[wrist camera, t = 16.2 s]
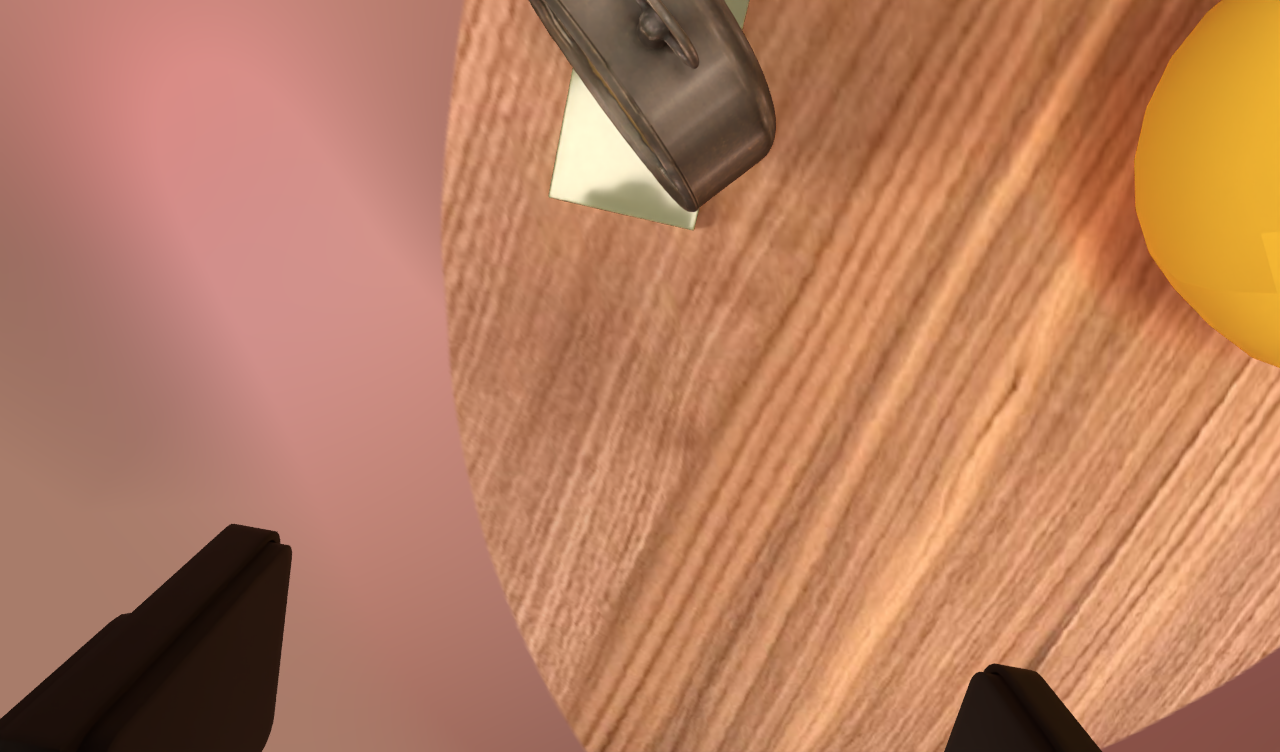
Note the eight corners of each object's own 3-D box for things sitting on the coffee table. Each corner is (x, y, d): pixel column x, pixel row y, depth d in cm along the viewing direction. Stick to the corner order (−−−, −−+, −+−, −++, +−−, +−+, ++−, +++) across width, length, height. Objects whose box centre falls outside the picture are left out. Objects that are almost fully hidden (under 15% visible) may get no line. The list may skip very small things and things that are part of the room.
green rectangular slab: (692, 229, 38) (694, 230, 37) (549, 196, 38) (548, 197, 37) (763, -65, 35) (766, -70, 34) (606, -105, 34) (606, -111, 33)
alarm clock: (526, 4, 35) (436, -117, 19) (624, -79, 34) (615, -278, 18) (674, 208, 37) (703, 250, 21) (770, 136, 36) (872, 123, 20)
